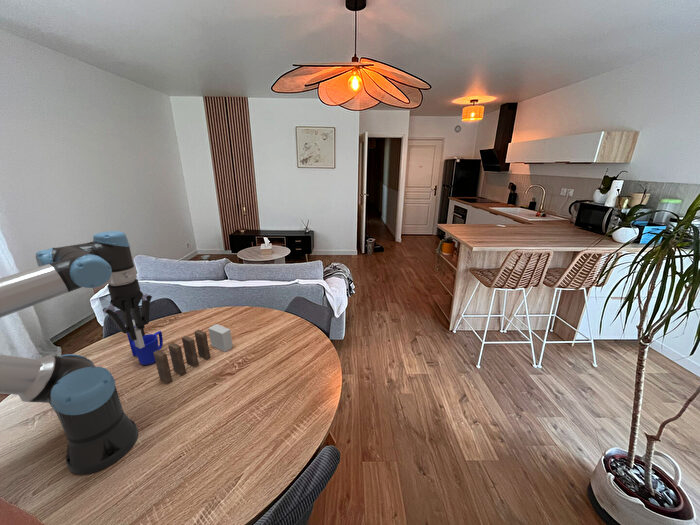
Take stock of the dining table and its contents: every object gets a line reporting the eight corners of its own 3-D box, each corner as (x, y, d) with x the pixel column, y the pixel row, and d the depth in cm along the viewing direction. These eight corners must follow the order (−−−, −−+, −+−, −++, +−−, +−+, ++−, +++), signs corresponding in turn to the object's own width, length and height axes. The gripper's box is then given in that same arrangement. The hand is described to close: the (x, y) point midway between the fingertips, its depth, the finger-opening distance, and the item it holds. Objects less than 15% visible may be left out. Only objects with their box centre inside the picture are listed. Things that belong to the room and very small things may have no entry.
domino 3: (191, 360, 115) (186, 335, 111) (198, 364, 112) (193, 339, 109) (187, 363, 113) (181, 337, 109) (194, 367, 111) (189, 341, 107)
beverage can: (142, 357, 117) (133, 325, 112) (129, 357, 117) (120, 325, 112) (150, 349, 121) (143, 319, 117) (139, 349, 122) (130, 318, 117)
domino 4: (206, 360, 115) (202, 334, 111) (198, 356, 117) (194, 331, 114) (210, 357, 117) (206, 332, 113) (202, 354, 119) (198, 329, 115)
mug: (173, 349, 122) (168, 329, 119) (152, 368, 110) (146, 346, 107) (155, 348, 122) (150, 328, 119) (132, 366, 111) (126, 345, 108)
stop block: (225, 352, 120) (222, 333, 118) (211, 345, 124) (208, 328, 122) (232, 347, 124) (230, 329, 121) (219, 341, 128) (216, 324, 125)
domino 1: (167, 384, 102) (161, 356, 98) (160, 379, 104) (153, 352, 101) (172, 381, 104) (166, 353, 100) (165, 376, 106) (158, 349, 102)
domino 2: (181, 375, 107) (175, 348, 103) (174, 371, 109) (168, 344, 105) (186, 372, 108) (180, 346, 104) (178, 368, 110) (172, 342, 106)
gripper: (102, 291, 79) (123, 361, 87) (151, 276, 90) (166, 339, 98) (90, 286, 83) (111, 353, 90) (139, 272, 94) (154, 333, 101)
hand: (140, 346), depth 94 cm, fingers closed
